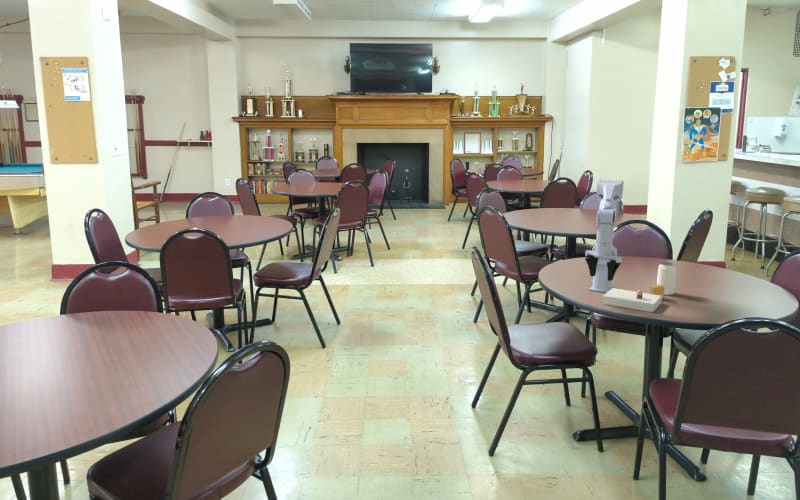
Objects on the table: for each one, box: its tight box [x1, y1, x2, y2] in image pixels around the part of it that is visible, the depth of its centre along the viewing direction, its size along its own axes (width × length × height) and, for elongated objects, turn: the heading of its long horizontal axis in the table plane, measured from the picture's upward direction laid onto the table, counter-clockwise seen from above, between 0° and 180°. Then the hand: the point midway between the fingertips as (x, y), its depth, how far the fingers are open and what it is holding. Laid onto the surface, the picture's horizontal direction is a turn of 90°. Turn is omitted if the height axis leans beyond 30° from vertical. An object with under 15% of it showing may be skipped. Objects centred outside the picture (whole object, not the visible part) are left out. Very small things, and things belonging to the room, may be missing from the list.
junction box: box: [601, 287, 663, 313], centre depth 234 cm, size 14×18×6 cm
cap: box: [649, 283, 665, 301], centre depth 242 cm, size 5×5×5 cm
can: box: [656, 261, 677, 296], centre depth 249 cm, size 6×6×12 cm
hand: (601, 278), depth 232 cm, fingers open, 7 cm apart
